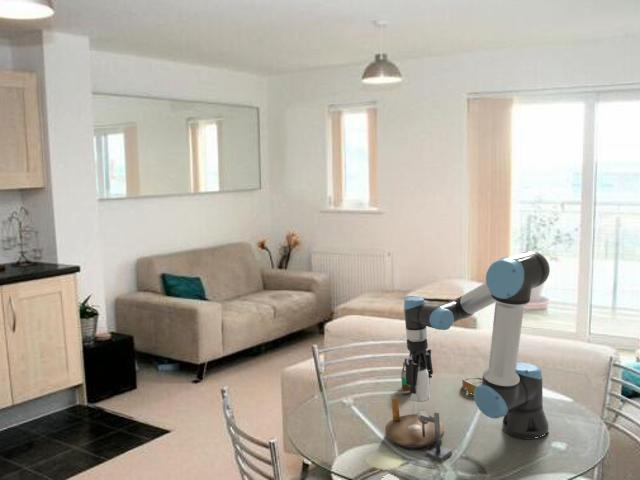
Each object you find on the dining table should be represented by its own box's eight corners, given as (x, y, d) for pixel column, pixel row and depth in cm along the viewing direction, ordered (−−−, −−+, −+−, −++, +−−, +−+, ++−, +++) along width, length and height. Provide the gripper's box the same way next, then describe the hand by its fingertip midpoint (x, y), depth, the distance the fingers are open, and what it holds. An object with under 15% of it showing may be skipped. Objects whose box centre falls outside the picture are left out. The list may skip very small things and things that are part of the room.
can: (409, 397, 245) (407, 367, 243) (425, 393, 247) (423, 363, 245) (417, 403, 239) (414, 372, 237) (433, 399, 241) (430, 369, 239)
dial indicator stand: (451, 454, 211) (449, 412, 208) (441, 462, 206) (439, 419, 204) (425, 445, 218) (423, 405, 215) (415, 452, 214) (412, 411, 211)
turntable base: (447, 435, 223) (447, 429, 223) (420, 454, 212) (420, 448, 212) (410, 423, 234) (409, 417, 234) (382, 441, 223) (381, 435, 223)
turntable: (441, 417, 232) (440, 392, 230) (447, 445, 212) (445, 417, 210) (385, 419, 234) (383, 394, 232) (385, 447, 214) (383, 420, 212)
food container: (418, 396, 256) (416, 372, 255) (402, 396, 258) (400, 372, 256) (419, 384, 268) (418, 361, 266) (404, 384, 269) (403, 361, 268)
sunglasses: (454, 387, 262) (455, 375, 262) (485, 384, 268) (486, 372, 268) (476, 400, 249) (477, 387, 249) (507, 396, 255) (508, 384, 255)
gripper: (423, 329, 249) (427, 387, 252) (392, 344, 235) (397, 404, 239) (440, 332, 243) (444, 390, 247) (409, 347, 230) (414, 409, 233)
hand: (421, 397), depth 243 cm, fingers closed on can, 6 cm apart
